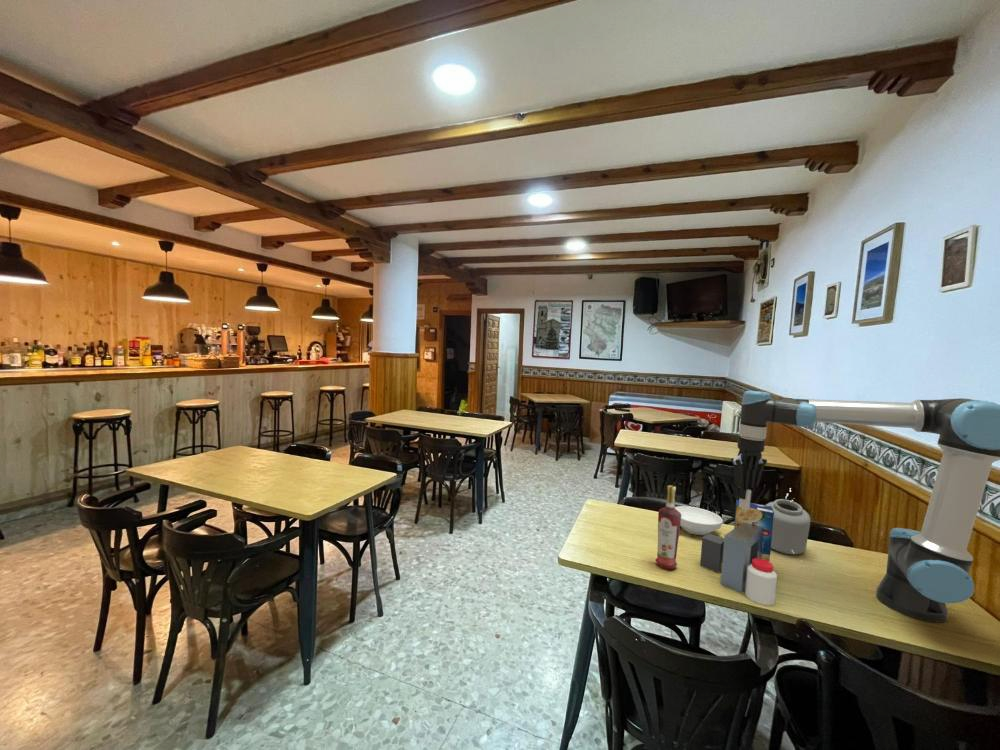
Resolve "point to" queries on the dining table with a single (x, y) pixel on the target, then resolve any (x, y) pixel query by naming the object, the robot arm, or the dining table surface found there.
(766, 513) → the blue food box
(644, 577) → the dining table surface
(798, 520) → the jar
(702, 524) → the bowl
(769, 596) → the pill bottle
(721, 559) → the hammer
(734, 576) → the block
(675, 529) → the red glass bottle
